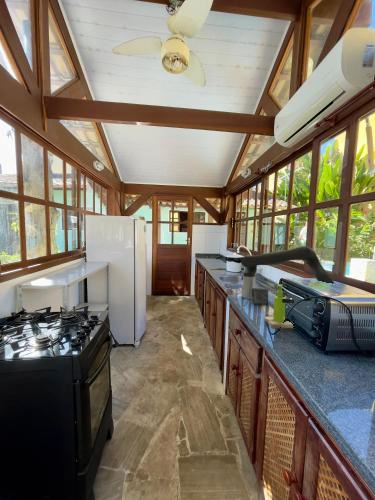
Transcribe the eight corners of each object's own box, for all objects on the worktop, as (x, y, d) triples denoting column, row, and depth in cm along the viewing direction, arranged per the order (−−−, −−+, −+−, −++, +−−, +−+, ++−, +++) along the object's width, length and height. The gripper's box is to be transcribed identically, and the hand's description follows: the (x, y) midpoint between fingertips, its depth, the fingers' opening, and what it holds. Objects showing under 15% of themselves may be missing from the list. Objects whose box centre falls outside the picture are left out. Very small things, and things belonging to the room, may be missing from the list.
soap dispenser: (283, 318, 128) (285, 284, 126) (284, 322, 121) (286, 286, 120) (273, 317, 130) (274, 283, 128) (273, 321, 123) (274, 285, 122)
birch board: (264, 319, 131) (264, 316, 131) (284, 319, 131) (284, 316, 131) (272, 328, 119) (272, 324, 119) (294, 328, 119) (294, 324, 119)
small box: (266, 302, 165) (266, 288, 164) (268, 304, 158) (268, 290, 157) (251, 301, 166) (251, 287, 165) (253, 304, 159) (253, 289, 158)
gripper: (302, 288, 131) (274, 288, 131) (316, 295, 117) (285, 295, 117) (301, 301, 131) (274, 301, 131) (315, 309, 117) (284, 309, 117)
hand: (279, 298), depth 124 cm, fingers open, 8 cm apart
